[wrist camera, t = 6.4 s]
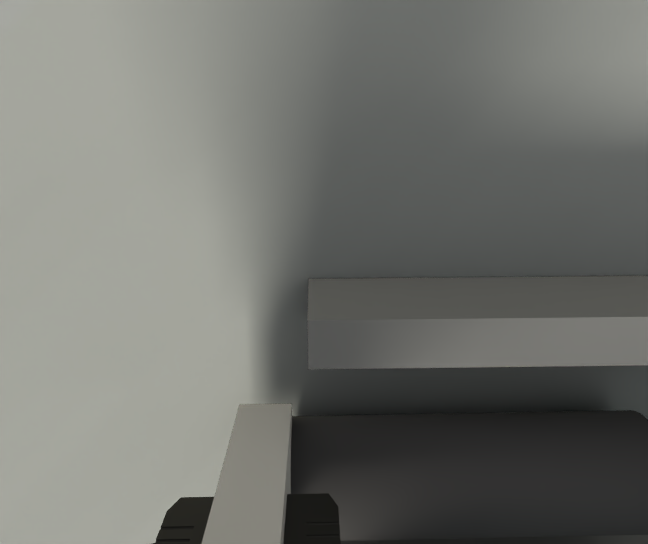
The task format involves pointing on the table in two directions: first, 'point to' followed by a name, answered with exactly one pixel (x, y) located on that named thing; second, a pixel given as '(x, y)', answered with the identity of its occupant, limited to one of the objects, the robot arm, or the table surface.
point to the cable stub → (477, 473)
